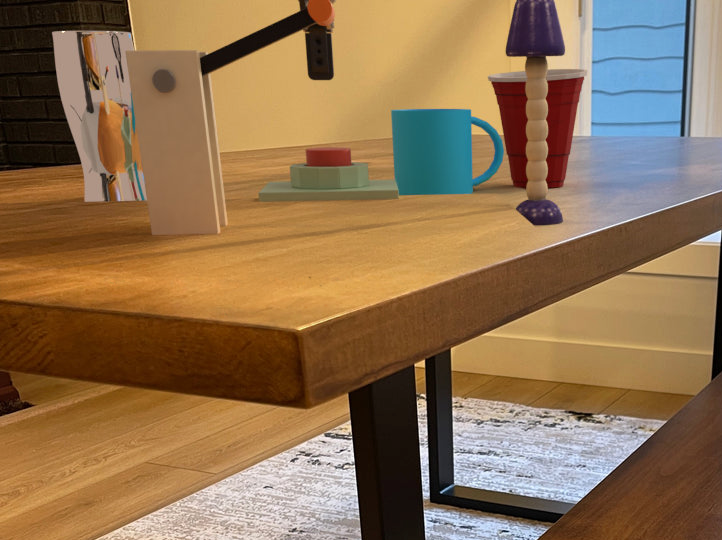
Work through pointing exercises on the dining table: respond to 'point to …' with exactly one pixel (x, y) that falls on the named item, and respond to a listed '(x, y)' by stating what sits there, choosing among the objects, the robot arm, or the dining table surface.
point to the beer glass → (101, 112)
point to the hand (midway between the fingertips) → (321, 79)
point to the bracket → (177, 141)
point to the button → (328, 157)
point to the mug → (438, 151)
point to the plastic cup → (559, 119)
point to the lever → (269, 35)
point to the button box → (329, 185)
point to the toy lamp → (536, 97)
